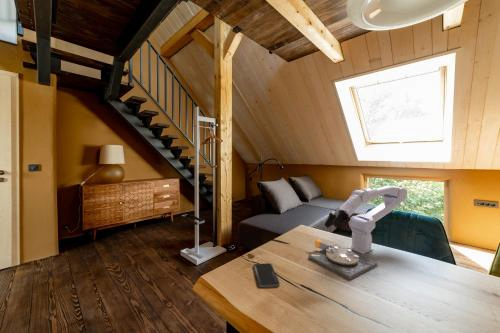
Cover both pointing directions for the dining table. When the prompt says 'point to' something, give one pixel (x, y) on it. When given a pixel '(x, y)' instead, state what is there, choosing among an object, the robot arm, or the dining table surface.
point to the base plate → (343, 270)
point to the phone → (265, 275)
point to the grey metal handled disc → (338, 254)
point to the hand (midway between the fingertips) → (329, 225)
